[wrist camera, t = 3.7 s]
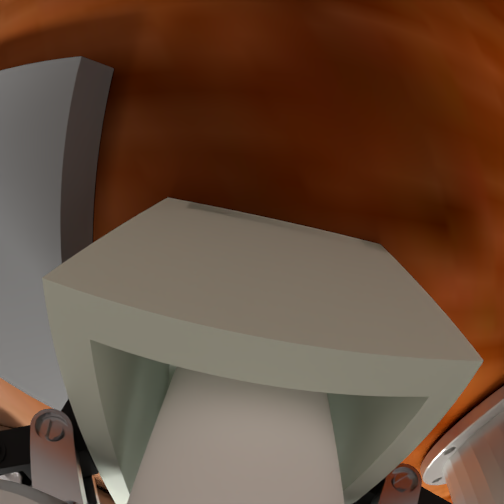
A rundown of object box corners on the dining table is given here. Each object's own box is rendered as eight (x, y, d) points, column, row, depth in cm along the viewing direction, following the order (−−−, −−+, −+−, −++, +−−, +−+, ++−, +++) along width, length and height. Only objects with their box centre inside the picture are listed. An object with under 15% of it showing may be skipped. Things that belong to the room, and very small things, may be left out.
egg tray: (167, 197, 9) (-42, 346, 2) (380, 244, 9) (532, 433, 2) (156, 426, 13) (115, 549, 6) (285, 451, 13) (285, 577, 6)
